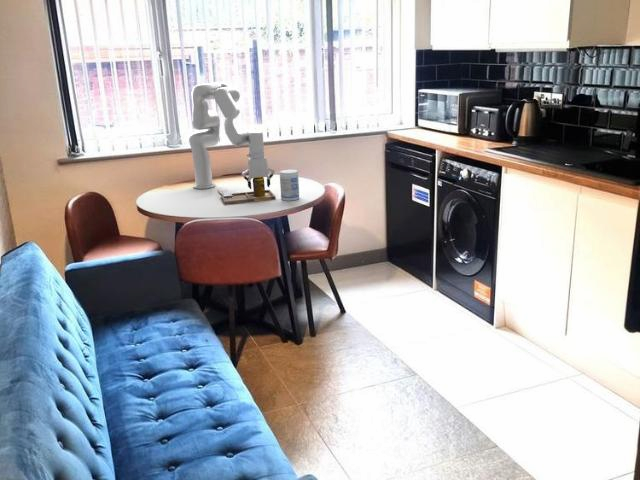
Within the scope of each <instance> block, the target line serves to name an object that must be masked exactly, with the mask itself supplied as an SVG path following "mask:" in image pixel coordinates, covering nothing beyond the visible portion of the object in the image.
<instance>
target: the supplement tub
mask: <svg viewBox="0 0 640 480" xmlns="http://www.w3.org/2000/svg"><path fill="white" fill-rule="evenodd" d="M298 172H299V171H298V169H283V170H281V171H279V184H280V185H279V186H280V199H281V200H282V201H284V202H292V201H297V200H298V199H300V187H299V185H300V183H299V173H298Z"/></svg>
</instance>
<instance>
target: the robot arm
mask: <svg viewBox="0 0 640 480" xmlns="http://www.w3.org/2000/svg"><path fill="white" fill-rule="evenodd" d="M240 98H241V97H240V92H239V90H238V89H237V88H236V87H235V86H233V85H230V84H226V83H224V82H210V83H209V82H207V83H201V84H196V85H195V86H193V88H192V91H191V100H192V118H191V119H192V126H193V129H195V130H198V131H194V132H192V133H191V134H190V135H189V139H188V142H189V146H190V149H191V153H192V162H193V169H194V170H193V171H194V178H195V179H194V180H195V183H194V184H193V187H192V188H193V189H197V190H198V189H199V190H203V189H204V190H205V189H212V188H215V187H216V183H215V182H213V176H212V165H211V164H212V163H211V156H210V153H209V151H208V150H207V148H209V147H214V146H216V145H218V143H219V142H220V141H219V140H220V130H221V129H220V127H221V126H220V124H221V120H220V116H219V114H218V113H217V111H214V110H209V103H208V101H209V100H214V101H215V102H216V104H217V106H218V108H219V110H220V111H221V113H222V114H223V117H224V118H225V119H224V124H223V125H224V131H225V135H226V136H227V138H228V140H229V142H231V144H232V145H233V146H235V147H241V146H246V145H248V150H249V153H246V157H249V158H248V162H247V169H246V170H244V171H243V172H242V173H241V175H242V177H243V179H244V180H246V181H247V187H248V188H249V189H250V190H252V182H251V180H253V178H260V177H263V178H266V186H267V188H270V186H271V179H272V178H273V176H274V175H275V172H276V171H275V169H272V168H269V166H268V161H267V157H265V147H264V133H263V132H262V131H261V130H254V129H244V130H243V129H242V130H238V131H237V129H236V127H235V126H234V120H235V119H236V118H237V117H238V116H239V114H240V109H239V107H238V106H237V102H239V100H240ZM269 172H270V174H269ZM247 174H248V176H246V175H247Z"/></svg>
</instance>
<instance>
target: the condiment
mask: <svg viewBox="0 0 640 480" xmlns="http://www.w3.org/2000/svg"><path fill="white" fill-rule="evenodd" d="M252 187H253V191H254V194H253V195H249V196H250V197H252V198H258V197H264V196H268V195H265V190H266V187H265V177H260V178H252Z"/></svg>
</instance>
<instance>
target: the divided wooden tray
mask: <svg viewBox="0 0 640 480" xmlns="http://www.w3.org/2000/svg"><path fill="white" fill-rule="evenodd" d="M231 194H232V195H233V198H228V199H227V198H224V196H223V195H224V194H220V196H221V197H220V198H221V200H222V202H223V204H224V206H225V205H235V204H243V203H252V202H253V203H254V202H264V201H272V200H276V195H275V194H274V193H273V192H272V191H271V189H265V195H268V196H264V197H258V198H252V197H250V196H249V195H253V194H254V190H253V191H245V192H235V193H234V192H233V193H231Z"/></svg>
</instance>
